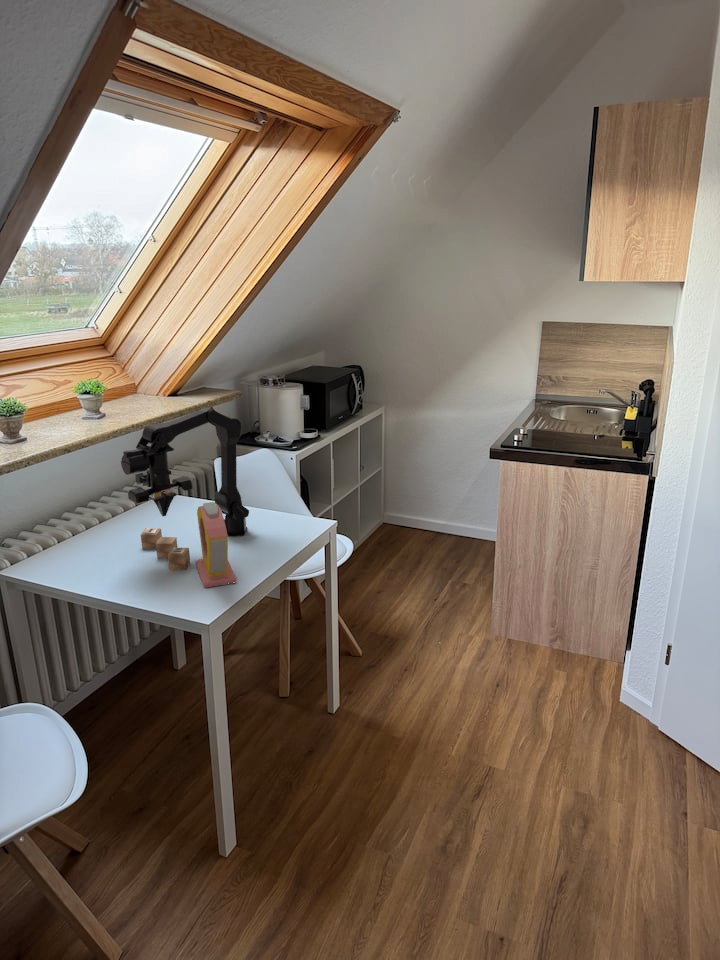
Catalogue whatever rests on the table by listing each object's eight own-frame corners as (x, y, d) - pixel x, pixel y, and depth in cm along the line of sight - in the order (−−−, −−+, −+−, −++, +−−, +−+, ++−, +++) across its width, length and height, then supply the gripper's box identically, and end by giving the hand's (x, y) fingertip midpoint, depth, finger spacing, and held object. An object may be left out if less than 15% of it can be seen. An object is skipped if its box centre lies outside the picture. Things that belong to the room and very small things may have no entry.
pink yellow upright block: (194, 561, 211) (188, 494, 204) (224, 556, 214) (220, 491, 208) (205, 593, 192) (199, 521, 185) (238, 587, 195) (234, 516, 188)
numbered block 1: (162, 542, 225) (160, 527, 223) (157, 548, 220) (156, 533, 219) (147, 542, 225) (145, 527, 223) (142, 548, 220) (140, 533, 219)
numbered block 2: (190, 562, 211) (188, 546, 209) (185, 570, 206) (184, 553, 204) (173, 562, 211) (172, 546, 209) (169, 569, 206) (167, 553, 204)
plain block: (177, 551, 218) (176, 537, 217) (173, 558, 214) (171, 543, 212) (162, 551, 218) (160, 537, 217) (157, 558, 214) (155, 543, 212)
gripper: (173, 455, 218) (177, 501, 223) (116, 468, 206) (122, 516, 211) (191, 462, 211) (195, 510, 216) (134, 476, 199) (140, 526, 204)
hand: (163, 515), depth 212 cm, fingers closed
